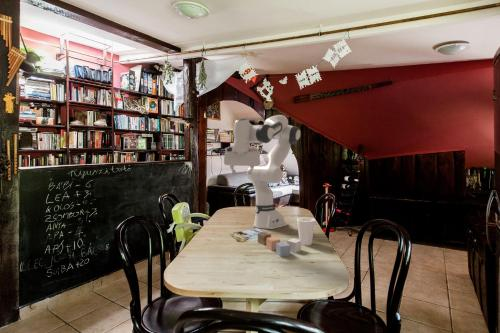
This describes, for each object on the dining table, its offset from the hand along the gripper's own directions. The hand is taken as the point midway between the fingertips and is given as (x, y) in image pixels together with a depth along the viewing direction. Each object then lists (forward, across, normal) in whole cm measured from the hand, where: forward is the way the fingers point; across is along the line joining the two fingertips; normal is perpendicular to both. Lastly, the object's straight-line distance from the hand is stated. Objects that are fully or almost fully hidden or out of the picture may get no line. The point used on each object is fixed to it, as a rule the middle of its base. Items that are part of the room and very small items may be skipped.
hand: (241, 174), depth 159 cm
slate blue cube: (+37, -26, +13) cm, 47 cm away
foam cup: (+37, -34, -6) cm, 50 cm away
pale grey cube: (+37, -30, +6) cm, 48 cm away
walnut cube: (+37, -13, +1) cm, 39 cm away
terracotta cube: (+37, -20, +7) cm, 42 cm away
